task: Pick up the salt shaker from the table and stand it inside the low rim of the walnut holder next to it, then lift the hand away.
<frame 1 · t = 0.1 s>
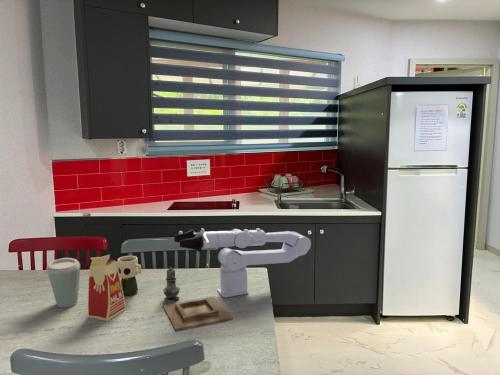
hand: (177, 241, 136), 22 cm above the table, tool horizontal, fingers open, 7 cm apart
walnut holder: (196, 312, 130), on the table
milk carton: (106, 313, 130), on the table
character mug: (129, 293, 147), on the table
disposable coffee cup: (66, 304, 137), on the table
salt shaker: (171, 299, 141), on the table
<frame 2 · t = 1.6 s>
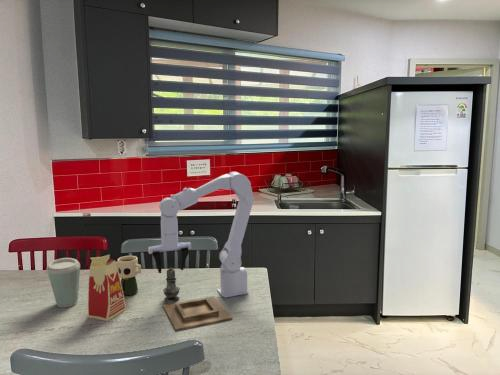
hand: (170, 270, 139), 10 cm above the table, tool pointing down, fingers open, 7 cm apart
nothing on the table moved.
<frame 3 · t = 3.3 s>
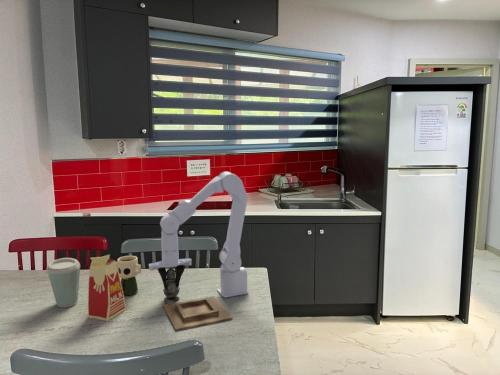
hand: (171, 287, 140), 4 cm above the table, tool pointing down, fingers closed on salt shaker, 3 cm apart
salt shaker: (171, 299, 141), on the table, touching gripper
everything else where it was.
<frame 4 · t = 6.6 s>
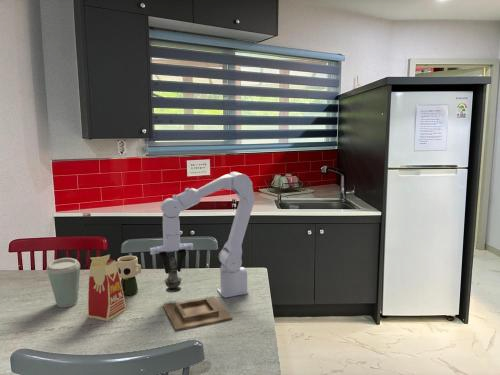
hand: (172, 271, 139), 10 cm above the table, tool pointing down, fingers closed on salt shaker, 4 cm apart
salt shaker: (173, 290, 139), point 4 cm above the table, touching gripper
everything else where it was.
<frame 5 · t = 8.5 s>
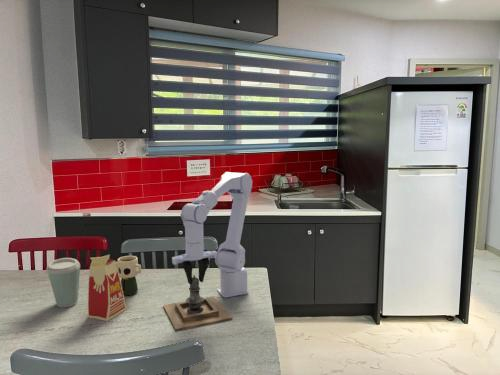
hand: (195, 282, 129), 10 cm above the table, tool pointing down, fingers open, 3 cm apart
salt shaker: (195, 310, 131), resting on walnut holder, touching gripper
everything else where it was.
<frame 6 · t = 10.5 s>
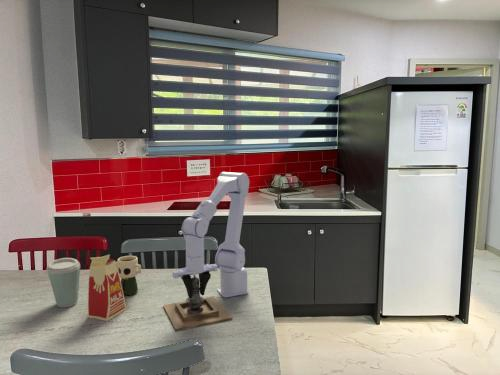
hand: (196, 295, 129), 6 cm above the table, tool pointing down, fingers closed on salt shaker, 3 cm apart
salt shaker: (195, 310, 131), resting on walnut holder, touching gripper
everything else where it was.
when the fingers open (6 cm above the table, at t = 11.6 s): salt shaker stays where it is, resting on walnut holder.
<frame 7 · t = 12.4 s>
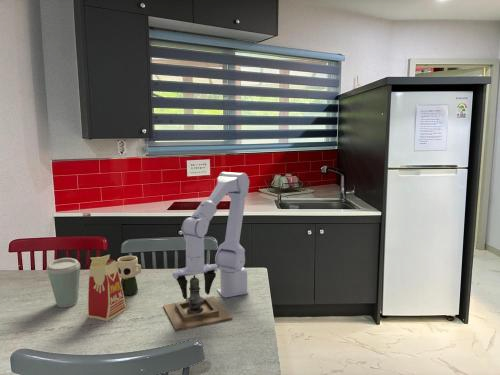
hand: (196, 295, 129), 6 cm above the table, tool pointing down, fingers open, 7 cm apart
salt shaker: (195, 310, 131), resting on walnut holder
everything else where it was.
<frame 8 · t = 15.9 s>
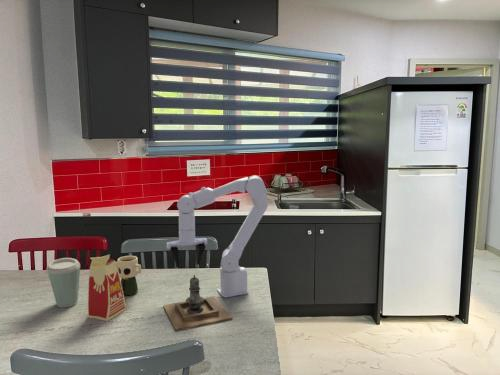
hand: (187, 265, 145), 10 cm above the table, tool pointing down, fingers open, 7 cm apart
nothing on the table moved.
at the end: salt shaker 0.9 cm off-centre on the walnut holder, point 0.4 cm above the walnut holder's base; salt shaker tilted 0°; the gripper is holding nothing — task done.
